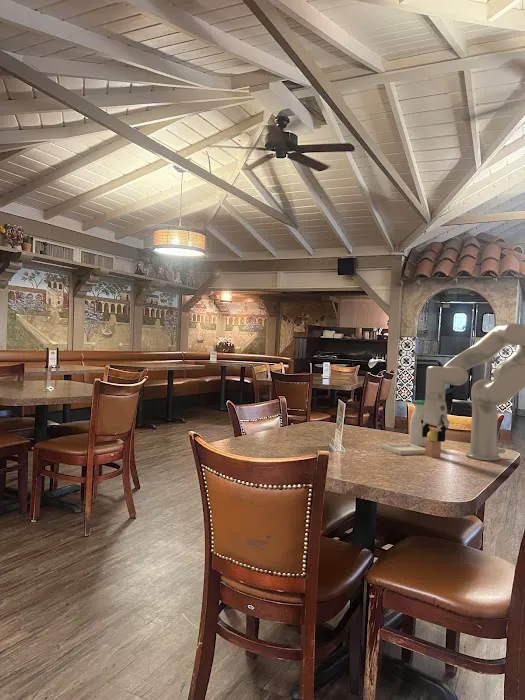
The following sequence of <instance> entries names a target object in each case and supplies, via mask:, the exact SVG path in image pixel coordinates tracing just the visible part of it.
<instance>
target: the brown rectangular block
mask: <svg viewBox="0 0 525 700" xmlns="http://www.w3.org/2000/svg"><path fill="white" fill-rule="evenodd" d="M424 448H425V454H424V456H427V457H430V458H441V450H442V449H441V448H442V442H431V441H429V440H428V439H427V440H426V443H425V446H424Z"/></svg>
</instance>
